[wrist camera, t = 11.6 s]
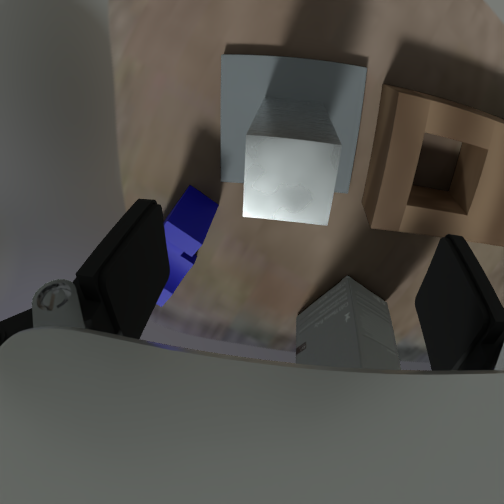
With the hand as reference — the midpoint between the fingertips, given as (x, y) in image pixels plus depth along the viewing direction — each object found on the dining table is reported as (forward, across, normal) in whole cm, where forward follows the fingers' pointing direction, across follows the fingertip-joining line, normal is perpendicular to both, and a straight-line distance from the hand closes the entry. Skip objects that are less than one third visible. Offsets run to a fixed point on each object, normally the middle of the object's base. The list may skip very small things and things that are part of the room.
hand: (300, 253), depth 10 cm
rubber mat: (+16, +1, 0) cm, 16 cm away
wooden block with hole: (+16, -14, 0) cm, 21 cm away
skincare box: (+16, -6, +18) cm, 25 cm away
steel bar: (+15, +1, 0) cm, 15 cm away
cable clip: (+16, +10, +12) cm, 22 cm away
